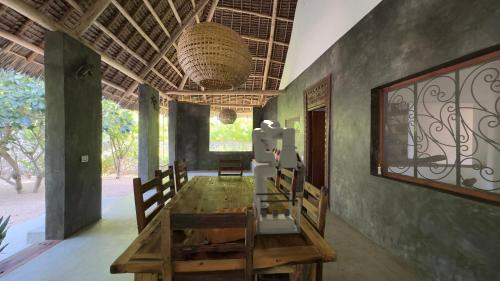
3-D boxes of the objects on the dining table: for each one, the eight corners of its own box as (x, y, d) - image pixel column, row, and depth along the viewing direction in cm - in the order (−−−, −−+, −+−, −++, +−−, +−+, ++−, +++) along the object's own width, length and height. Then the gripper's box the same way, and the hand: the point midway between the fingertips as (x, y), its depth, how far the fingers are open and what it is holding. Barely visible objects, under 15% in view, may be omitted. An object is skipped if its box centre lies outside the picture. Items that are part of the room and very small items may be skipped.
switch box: (257, 224, 139) (257, 214, 139) (289, 223, 142) (289, 213, 142) (260, 231, 130) (260, 220, 129) (294, 230, 132) (294, 219, 132)
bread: (258, 237, 123) (259, 208, 122) (211, 246, 111) (211, 215, 111) (247, 227, 135) (248, 201, 135) (203, 235, 123) (204, 207, 123)
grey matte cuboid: (284, 216, 137) (283, 209, 138) (288, 216, 137) (288, 209, 138) (285, 216, 135) (284, 209, 137) (289, 216, 136) (289, 209, 137)
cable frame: (252, 222, 143) (253, 191, 142) (290, 221, 146) (291, 191, 145) (257, 234, 126) (257, 199, 125) (300, 232, 129) (301, 199, 128)
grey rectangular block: (261, 216, 135) (261, 209, 136) (266, 216, 136) (265, 209, 137) (261, 217, 134) (261, 209, 135) (266, 216, 134) (266, 209, 135)
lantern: (172, 247, 127) (196, 247, 106) (168, 216, 132) (191, 210, 110) (185, 243, 133) (211, 242, 111) (181, 213, 137) (205, 207, 115)
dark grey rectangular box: (272, 216, 136) (272, 209, 137) (277, 216, 136) (277, 209, 138) (273, 216, 135) (273, 209, 136) (278, 216, 135) (277, 209, 136)
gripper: (300, 148, 140) (299, 175, 141) (272, 148, 138) (272, 176, 139) (304, 149, 133) (303, 178, 133) (275, 148, 131) (275, 178, 131)
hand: (287, 177), depth 136 cm, fingers open, 9 cm apart
